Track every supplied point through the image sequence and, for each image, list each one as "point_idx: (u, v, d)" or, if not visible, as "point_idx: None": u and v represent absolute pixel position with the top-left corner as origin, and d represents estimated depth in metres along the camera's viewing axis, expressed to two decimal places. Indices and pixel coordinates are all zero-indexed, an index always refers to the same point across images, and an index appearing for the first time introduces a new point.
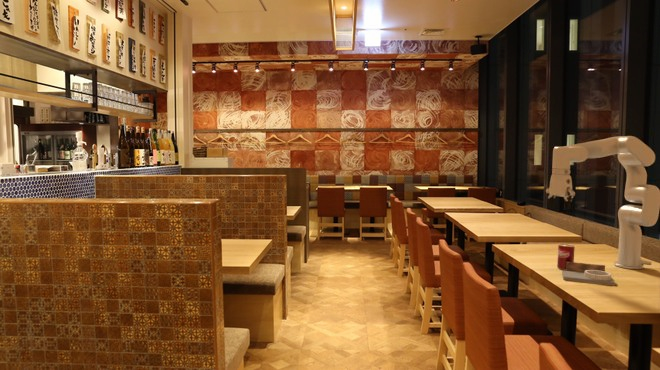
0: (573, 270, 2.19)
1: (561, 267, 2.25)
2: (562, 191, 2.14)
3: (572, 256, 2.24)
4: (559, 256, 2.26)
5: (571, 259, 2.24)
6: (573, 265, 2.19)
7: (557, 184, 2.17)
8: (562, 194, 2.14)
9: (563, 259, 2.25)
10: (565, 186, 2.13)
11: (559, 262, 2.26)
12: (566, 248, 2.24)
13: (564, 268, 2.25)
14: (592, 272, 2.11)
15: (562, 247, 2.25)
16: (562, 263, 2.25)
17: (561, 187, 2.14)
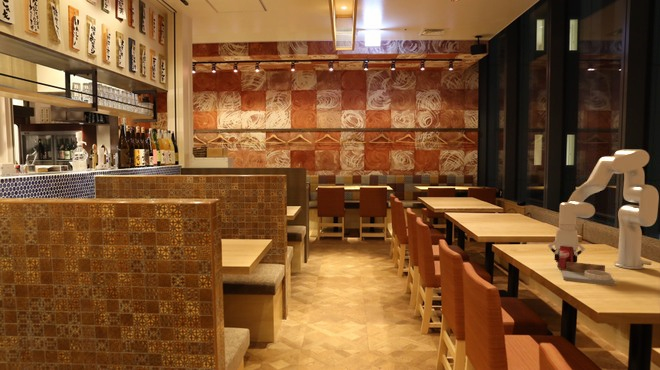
0: (573, 270, 2.19)
1: (561, 267, 2.25)
2: (575, 246, 2.23)
3: (572, 256, 2.24)
4: (559, 256, 2.26)
5: (571, 259, 2.24)
6: (573, 265, 2.19)
7: (569, 239, 2.24)
8: (575, 249, 2.23)
9: (563, 259, 2.25)
10: (577, 241, 2.23)
11: (559, 262, 2.26)
12: (566, 248, 2.24)
13: (564, 268, 2.25)
14: (592, 272, 2.11)
15: (562, 247, 2.25)
16: (562, 263, 2.25)
17: (574, 242, 2.23)
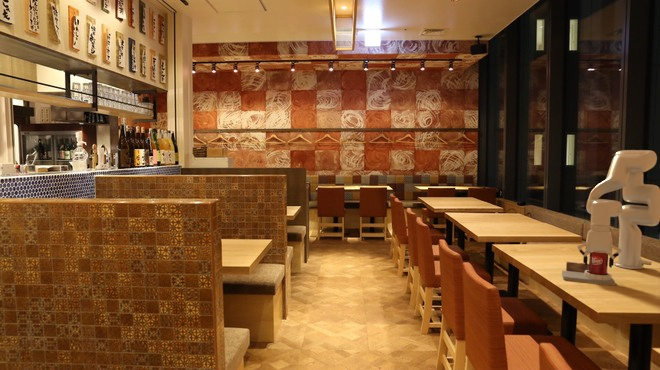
0: (573, 270, 2.19)
1: None
2: (609, 249, 2.03)
3: (606, 263, 2.04)
4: (591, 263, 2.06)
5: (605, 266, 2.03)
6: (573, 265, 2.19)
7: (602, 241, 2.03)
8: (609, 252, 2.03)
9: (596, 266, 2.04)
10: None
11: (591, 270, 2.06)
12: (599, 254, 2.03)
13: None
14: None
15: (595, 253, 2.04)
16: (595, 270, 2.05)
17: (608, 245, 2.03)
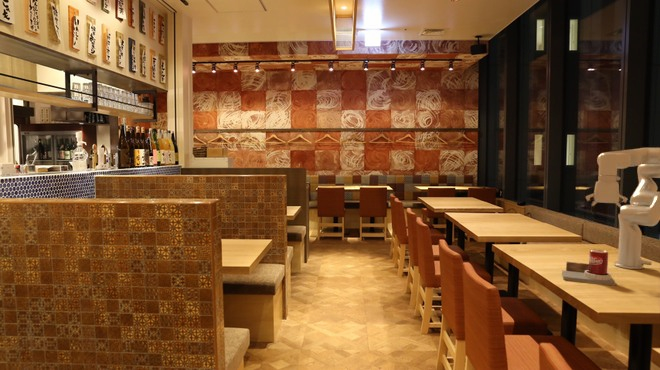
0: (573, 270, 2.19)
1: None
2: (616, 198, 2.15)
3: (606, 263, 2.03)
4: (591, 263, 2.06)
5: (605, 266, 2.03)
6: (573, 265, 2.19)
7: (609, 191, 2.16)
8: (616, 201, 2.15)
9: (596, 266, 2.04)
10: (618, 192, 2.15)
11: (591, 270, 2.06)
12: (599, 254, 2.03)
13: None
14: None
15: (594, 253, 2.04)
16: (595, 270, 2.05)
17: (615, 194, 2.15)
